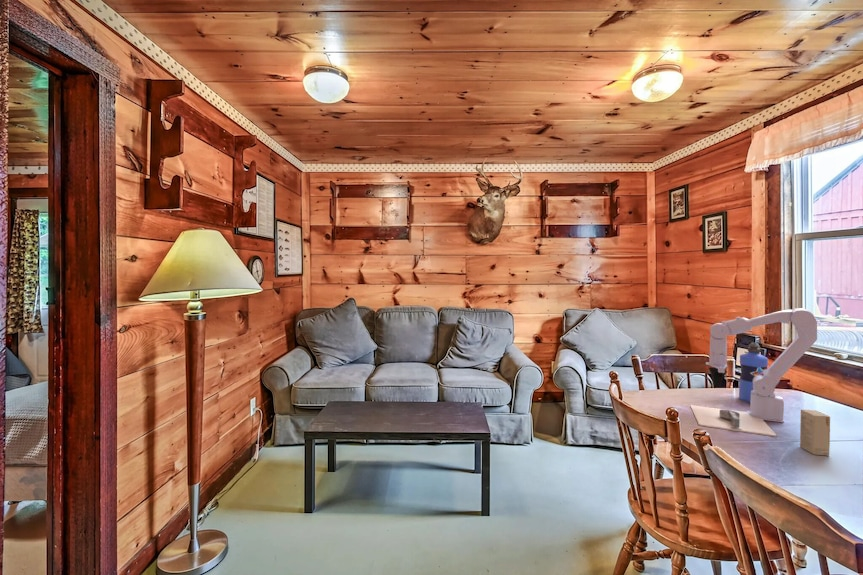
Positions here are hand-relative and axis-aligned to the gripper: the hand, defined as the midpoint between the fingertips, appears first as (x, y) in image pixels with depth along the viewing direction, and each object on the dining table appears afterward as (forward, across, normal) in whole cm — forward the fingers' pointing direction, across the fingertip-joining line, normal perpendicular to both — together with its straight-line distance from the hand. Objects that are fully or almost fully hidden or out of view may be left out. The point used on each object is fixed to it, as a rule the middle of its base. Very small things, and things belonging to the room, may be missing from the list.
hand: (716, 386), depth 160 cm
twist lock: (+9, +15, +2) cm, 18 cm away
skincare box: (+10, +31, +20) cm, 38 cm away
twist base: (+9, +12, +2) cm, 15 cm away
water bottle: (+10, -19, +16) cm, 27 cm away
